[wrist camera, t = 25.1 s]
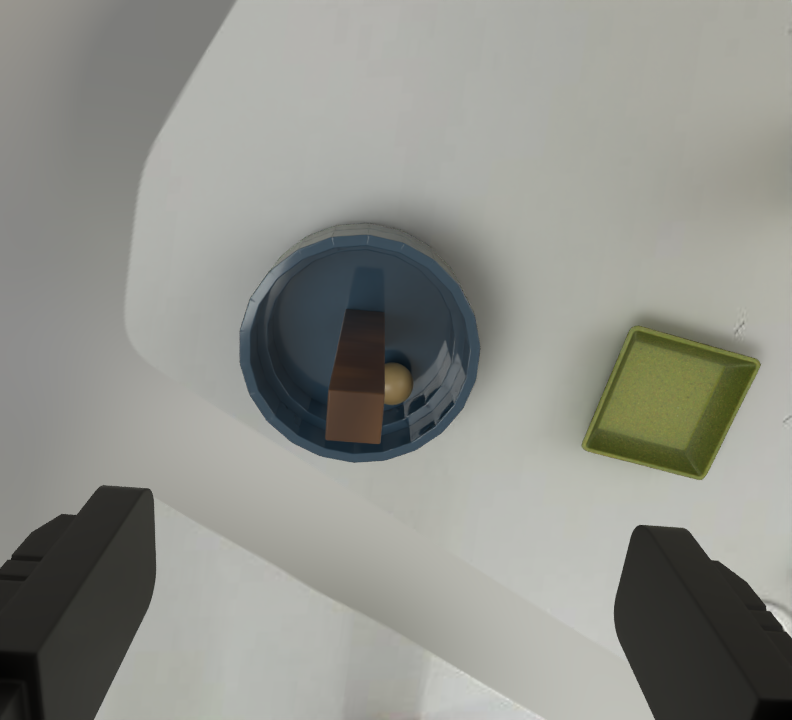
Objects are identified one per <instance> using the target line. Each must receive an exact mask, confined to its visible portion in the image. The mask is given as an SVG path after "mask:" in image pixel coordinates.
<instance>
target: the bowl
mask: <svg viewBox="0 0 792 720" xmlns="http://www.w3.org/2000/svg"><path fill="white" fill-rule="evenodd" d="M346 309H352V310H364V311H375V312H384V313H385V364H386V363H391V362H393V363H399V364H401V365H403V366H405V367H406V368H407V369H408V370H409V371H410V373H411V375H412V377H413V390H412V393H411V394H410V396H409V397H408V398H407V399H406V400H405V401H404V402H402V403H400V404H397V405H388V404H385V403H384V410H383V421H382V431H381V442H380V444H370V443H357V442H344V441H331V440H326V439H325V433H326V418H327V402H328V389H329V385H330V380H331V375H332V370H333V366H334V361H335V356H336V351H337V347H338V342H339V337H340V332H341V328H342V323H343V318H344V313H345V310H346ZM479 355H480V342H479V336H478V330H477V325H476V319H475V315H474V312H473V310H472V308H471V306H470V304H469V302H468V300H467V298H466V296H465V294H464V292H463V290H462V288H461V286H460V284H459V282H458V280H457V278H456V276H455V275H454V273H453V271H452V269H451V268H450V267H449V266H448V264H447V263H446V262H445V261H444V260H443V259H442V258H441V257H440V256H439V255H438V254H437V253H436V252H435V251H434V250H433V249H432V248H431V247H430V246H429V245H427V244H425V243H423V242H422V241H420V240H418V239H416V238H414V237H413V236H411V235H409V234H407V233H406V232H404V231H401V230H398V229H394V228H390V227H385V226H381V225H376V224H372V223H370V224H369V223H362V224H346V225H336V226H333V227H330V228H328V229H325V230H322V231H320V232H317V233H314V234H312V235H309V236H307V237H305V238H304V239H303V240H301V241H300V242H299V243H297V244H296V245H295V246H293V247H292V248H291V249H289V250H288V251H287V252H286V253H284V254H283V255H282V256H281V257H280V258H279V259H278V261H277V262H276V263H275V265H274V266H273V267H272V268H271V270H270V271H269V272H268V274H267V275H266V276H265V278H264V279H263V281H262V282H261V283H260V285H259V286H258V288H257V289H256V291H255V292H254V293H253V295H252V296H251V298H250V300H249V303H248V306H247V309H246V312H245V315H244V318H243V322H242V325H241V328H240V366H241V369H242V372H243V376H244V379H245V382H246V385H247V389H248V392H249V394H250V396H251V398H252V399H253V401H254V402H255V404H256V405H257V407H258V408H259V410H260V411H261V413H262V414H263V416H264V417H265V419H266V420H267V421H268V422H269V423H270V424H271V425H272V426H273V427H274V428H276V429H277V430H278V431H279V432H280V433H281V434H283V435H284V436H285V437H286V438H287V439H288V440H289V441H291V442H292V443H294V444H296V445H298V446H300V447H302V448H304V449H306V450H308V451H310V452H312V453H315V454H317V455H319V456H322V457H327V458H332V459H337V460H342V461H347V462H353V463H355V462H371V461H385V460H388V459H391V458H394V457H397V456H400V455H403V454H406V453H409V452H412V451H415V450H417V449H418V448H420V447H421V446H423V445H424V444H426V443H427V442H429V441H430V440H432V439H434V438H435V437H437V436H438V435H440V434H441V433H442V432H443V431H444V430H445V429H446V428H447V427H448V425H449V424H450V423H451V422H452V421H453V420H454V419H455V417H456V416H457V415H458V414H459V413H460V412H461V410H462V409H463V408H464V406H465V403H466V401H467V399H468V397H469V395H470V392H471V390H472V388H473V386H474V383H475V381H476V378H477V370H478V362H479Z"/></svg>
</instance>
